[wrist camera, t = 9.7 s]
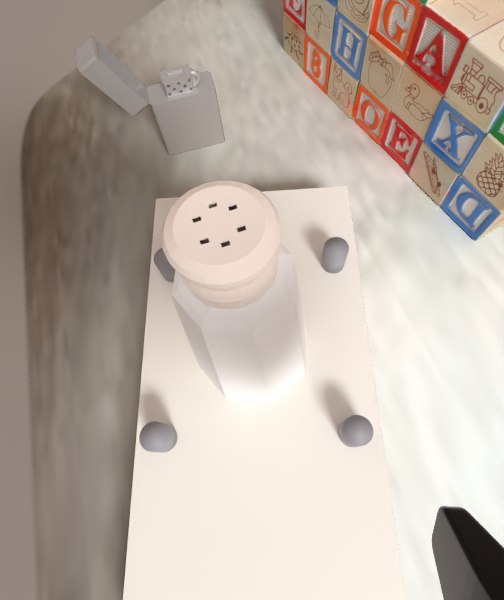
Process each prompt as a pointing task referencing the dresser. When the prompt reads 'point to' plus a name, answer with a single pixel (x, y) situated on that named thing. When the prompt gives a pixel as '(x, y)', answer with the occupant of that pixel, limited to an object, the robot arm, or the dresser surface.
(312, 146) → the dresser surface
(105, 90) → the lighter
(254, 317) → the pepper shaker
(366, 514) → the cream board with pegs
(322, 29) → the stack of blocks
